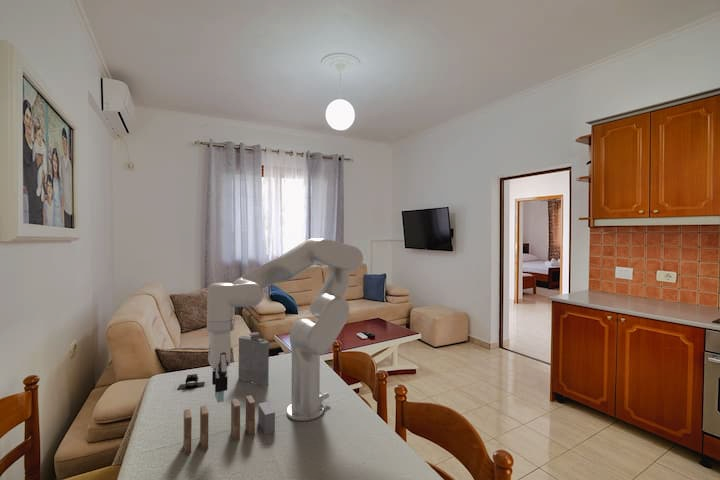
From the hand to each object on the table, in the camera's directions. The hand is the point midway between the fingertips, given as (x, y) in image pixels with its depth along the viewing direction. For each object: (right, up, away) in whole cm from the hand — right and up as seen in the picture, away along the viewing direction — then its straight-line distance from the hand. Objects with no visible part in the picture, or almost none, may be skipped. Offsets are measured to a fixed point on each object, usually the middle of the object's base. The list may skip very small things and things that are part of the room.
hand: (219, 386), depth 99 cm
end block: (+12, -16, +7) cm, 21 cm away
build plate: (-26, -16, +37) cm, 48 cm away
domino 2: (-4, -16, -2) cm, 16 cm away
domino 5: (+7, -16, +5) cm, 18 cm away
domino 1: (-7, -16, -4) cm, 18 cm away
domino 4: (+4, -16, +2) cm, 16 cm away
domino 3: (0, -4, 0) cm, 4 cm away
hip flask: (-3, -16, +41) cm, 44 cm away
